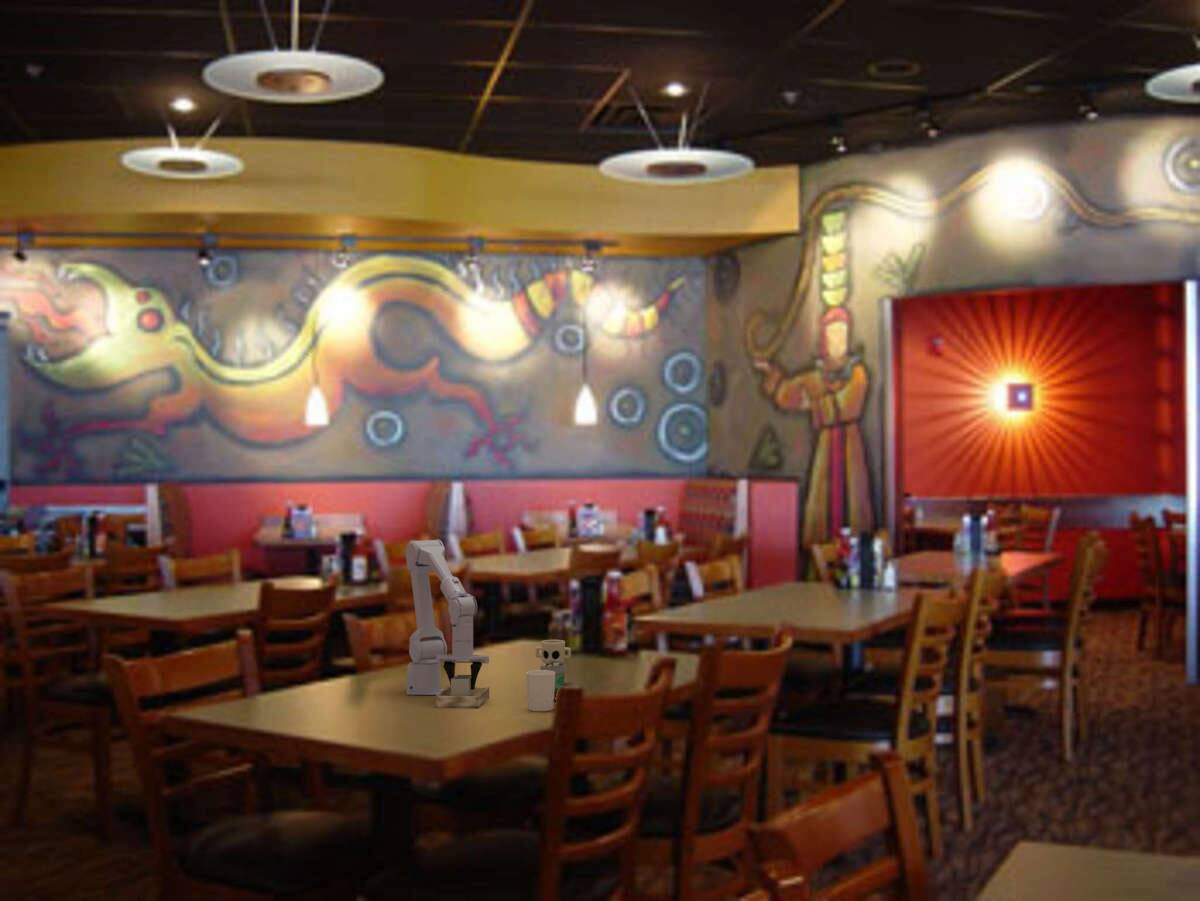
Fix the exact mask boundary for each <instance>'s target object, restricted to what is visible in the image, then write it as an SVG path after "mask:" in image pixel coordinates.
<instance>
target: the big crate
mask: <svg viewBox="0 0 1200 901" xmlns="http://www.w3.org/2000/svg"><path fill="white" fill-rule="evenodd" d="M443 689H444V690H443V691H441V692H440V693H439V694H438V695H434V696H435V697H434V699H435V700H434V702H435V704H434V706H435V708H446V707H447V709H448V708H449V709H451V708H453V709H454V708H457V709H479V708H481V707H482V706H483V705H484V704H485V703H486V702H487V701H488V700H489V699H490V687H489V686H484V687H483V686H475V693H474V694H472V695H471V696H451V686H447V687H445V688H443Z"/></svg>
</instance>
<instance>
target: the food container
mask: <svg viewBox="0 0 1200 901" xmlns="http://www.w3.org/2000/svg"><path fill="white" fill-rule="evenodd" d="M539 668H540V669H539V670H548V671H554V672H555V691H554V700H555V697H556V693H557V690H558V688H560V687H564V686H565V673H566V672H568V669H567V664H566V663H565V661H564V662H561V661H552V660H550V664H549V665H546V664H545V665H543V666H542V665H541V666H540V667H539ZM554 700H553V701H554ZM554 702H555V701H554Z"/></svg>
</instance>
